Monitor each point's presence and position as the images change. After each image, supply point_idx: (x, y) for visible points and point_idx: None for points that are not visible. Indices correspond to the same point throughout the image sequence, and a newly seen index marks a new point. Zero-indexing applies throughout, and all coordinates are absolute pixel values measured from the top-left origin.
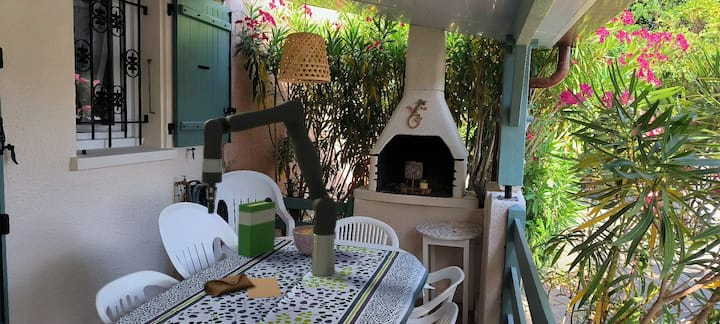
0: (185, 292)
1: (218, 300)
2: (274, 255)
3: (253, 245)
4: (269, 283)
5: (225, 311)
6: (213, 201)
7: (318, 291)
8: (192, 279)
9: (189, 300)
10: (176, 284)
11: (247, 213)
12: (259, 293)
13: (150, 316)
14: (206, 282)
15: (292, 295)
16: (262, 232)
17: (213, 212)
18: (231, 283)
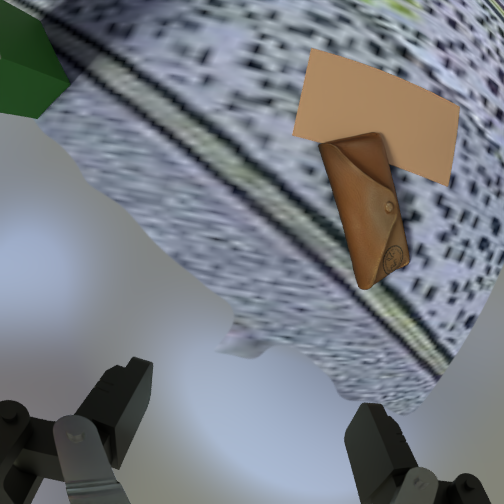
0: (339, 326)
1: (429, 259)
2: (84, 16)
3: (45, 65)
4: (362, 85)
5: (484, 259)
6: (475, 489)
7: (445, 22)
8: (232, 294)
9: (397, 323)
10: (262, 339)
11: None
12: (429, 146)
13: (429, 388)
14: (371, 286)
15: (458, 82)
16: (13, 30)
17: (381, 409)
18: (396, 213)
